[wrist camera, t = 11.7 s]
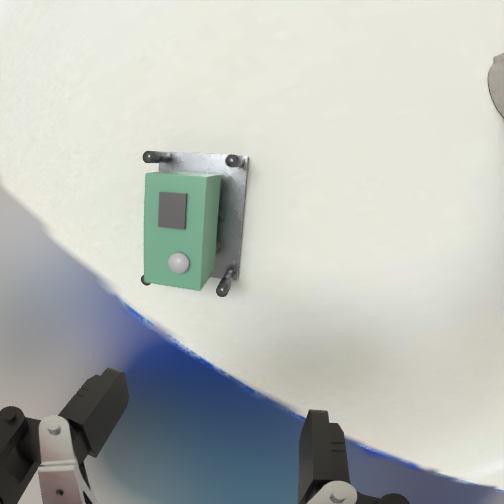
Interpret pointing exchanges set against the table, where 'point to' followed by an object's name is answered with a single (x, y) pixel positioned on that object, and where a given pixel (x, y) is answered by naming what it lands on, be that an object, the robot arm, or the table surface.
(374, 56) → the table surface
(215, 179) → the module block
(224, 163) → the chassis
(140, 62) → the table surface
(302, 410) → the table surface
